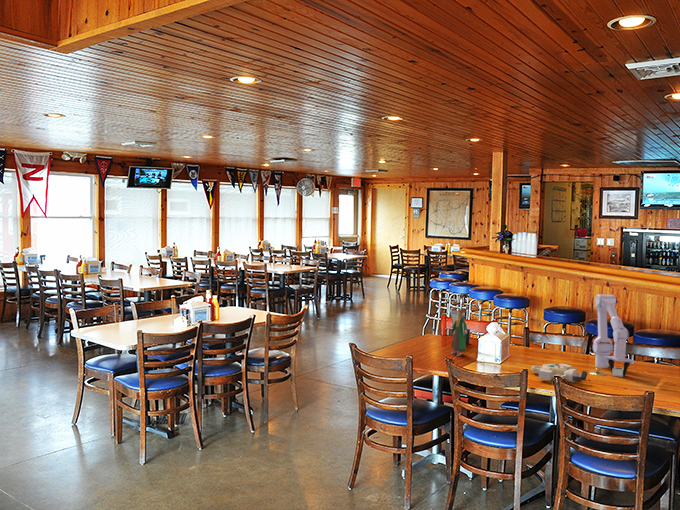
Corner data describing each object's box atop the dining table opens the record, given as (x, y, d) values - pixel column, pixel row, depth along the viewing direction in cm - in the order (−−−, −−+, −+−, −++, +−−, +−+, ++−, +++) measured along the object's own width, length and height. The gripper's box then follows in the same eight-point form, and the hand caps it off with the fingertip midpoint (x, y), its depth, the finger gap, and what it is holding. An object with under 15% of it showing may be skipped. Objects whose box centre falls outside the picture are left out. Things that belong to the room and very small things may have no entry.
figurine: (446, 352, 376) (448, 306, 374) (455, 351, 380) (457, 305, 378) (462, 358, 362) (464, 310, 360) (471, 357, 365) (473, 309, 363)
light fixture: (446, 346, 395) (448, 310, 393) (454, 341, 410) (455, 307, 409) (462, 348, 390) (463, 312, 388) (469, 343, 405) (471, 308, 404)
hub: (590, 372, 335) (591, 365, 334) (607, 375, 329) (608, 368, 329) (586, 375, 328) (587, 368, 327) (604, 378, 322) (604, 371, 322)
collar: (614, 373, 329) (614, 366, 329) (624, 375, 326) (625, 368, 326) (612, 375, 325) (612, 368, 325) (622, 377, 322) (623, 370, 322)
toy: (578, 373, 301) (522, 363, 320) (577, 389, 302) (521, 378, 321) (593, 364, 321) (539, 355, 340) (592, 379, 321) (538, 369, 340)
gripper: (604, 349, 326) (602, 373, 327) (632, 353, 317) (631, 378, 318) (607, 347, 331) (605, 370, 332) (635, 351, 323) (633, 375, 324)
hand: (618, 374), depth 326 cm, fingers closed on collar, 5 cm apart
